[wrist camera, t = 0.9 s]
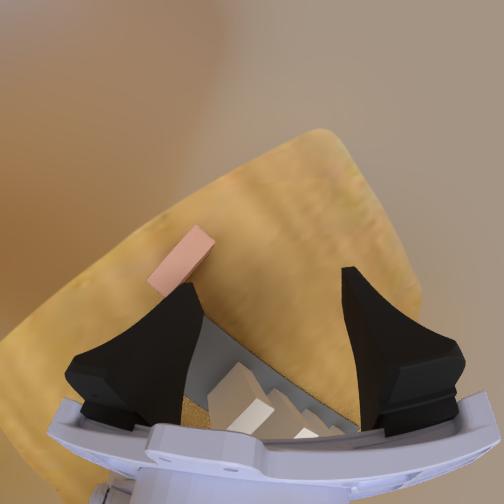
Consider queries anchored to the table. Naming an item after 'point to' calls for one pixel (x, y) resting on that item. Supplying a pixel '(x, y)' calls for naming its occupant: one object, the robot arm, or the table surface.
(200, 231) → the domino
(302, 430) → the domino
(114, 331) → the table surface
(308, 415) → the domino
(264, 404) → the domino
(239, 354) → the mat
